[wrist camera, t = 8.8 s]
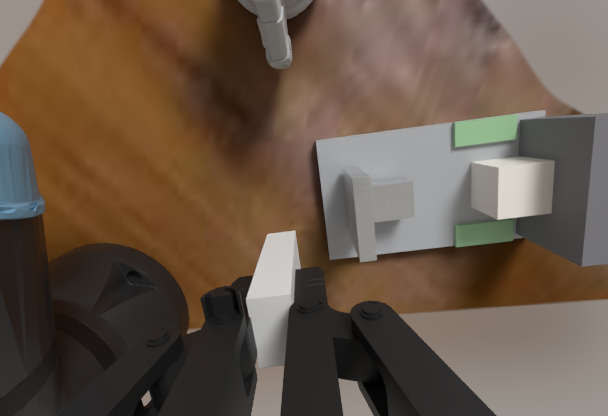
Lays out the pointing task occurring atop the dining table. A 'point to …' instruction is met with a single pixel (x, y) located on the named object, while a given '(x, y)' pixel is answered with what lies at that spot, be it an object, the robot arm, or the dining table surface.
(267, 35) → the mug
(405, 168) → the bench
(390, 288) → the dining table surface
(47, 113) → the dining table surface
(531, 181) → the block
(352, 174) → the plunger
